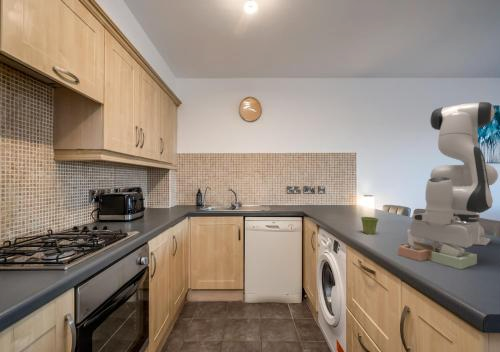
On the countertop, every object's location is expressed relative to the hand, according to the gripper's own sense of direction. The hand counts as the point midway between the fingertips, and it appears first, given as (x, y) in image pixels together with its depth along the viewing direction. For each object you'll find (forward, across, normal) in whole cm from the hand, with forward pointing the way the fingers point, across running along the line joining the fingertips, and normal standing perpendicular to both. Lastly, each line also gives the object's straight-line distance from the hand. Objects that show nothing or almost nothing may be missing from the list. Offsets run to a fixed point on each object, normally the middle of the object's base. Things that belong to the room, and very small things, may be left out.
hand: (438, 252), depth 96 cm
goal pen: (+2, -4, 0) cm, 5 cm away
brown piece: (+2, +6, 0) cm, 6 cm away
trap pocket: (+2, +6, +7) cm, 9 cm away
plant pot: (+2, +41, -14) cm, 44 cm away
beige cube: (+2, +15, -12) cm, 20 cm away
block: (+2, -3, 0) cm, 4 cm away
